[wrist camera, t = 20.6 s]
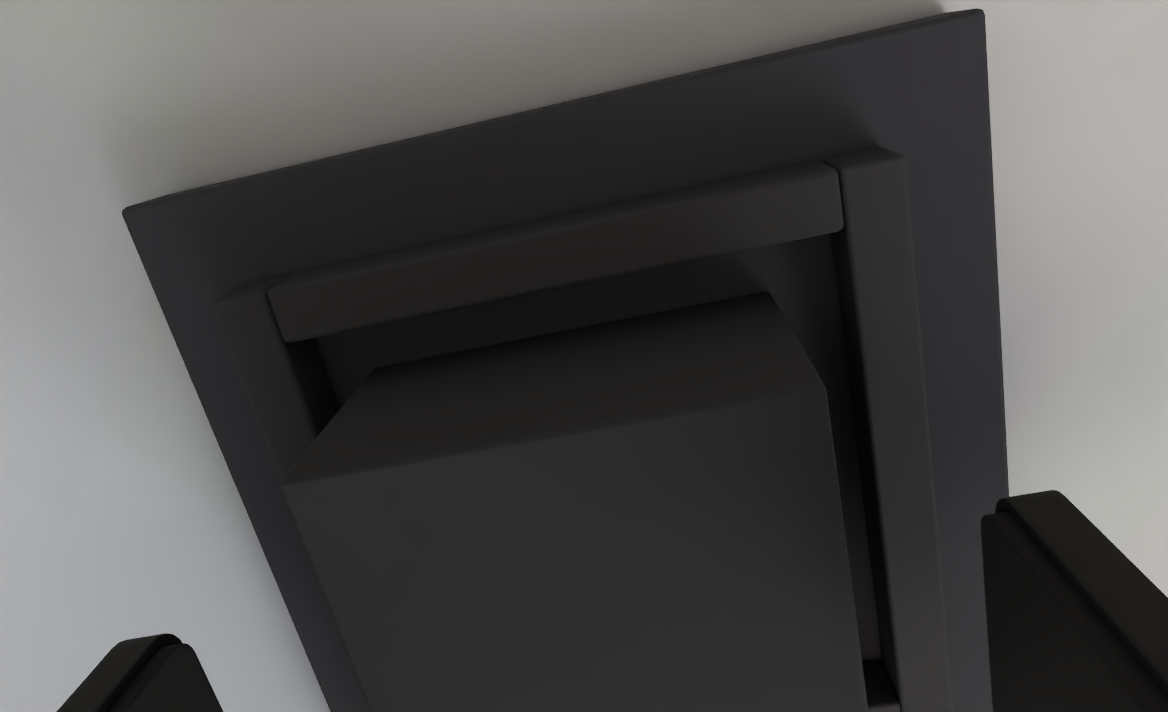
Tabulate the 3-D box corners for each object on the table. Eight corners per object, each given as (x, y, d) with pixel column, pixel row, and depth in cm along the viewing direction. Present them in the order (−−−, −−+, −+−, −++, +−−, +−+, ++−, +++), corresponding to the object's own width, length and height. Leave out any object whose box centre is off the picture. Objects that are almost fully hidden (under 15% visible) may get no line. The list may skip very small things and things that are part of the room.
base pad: (390, 766, 17) (356, 867, 14) (163, 195, 13) (70, 222, 10) (993, 690, 15) (1051, 791, 13) (950, 11, 11) (1024, 1, 9)
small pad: (476, 678, 14) (428, 867, 11) (372, 367, 12) (274, 482, 9) (821, 630, 13) (884, 818, 10) (770, 289, 11) (826, 383, 8)
